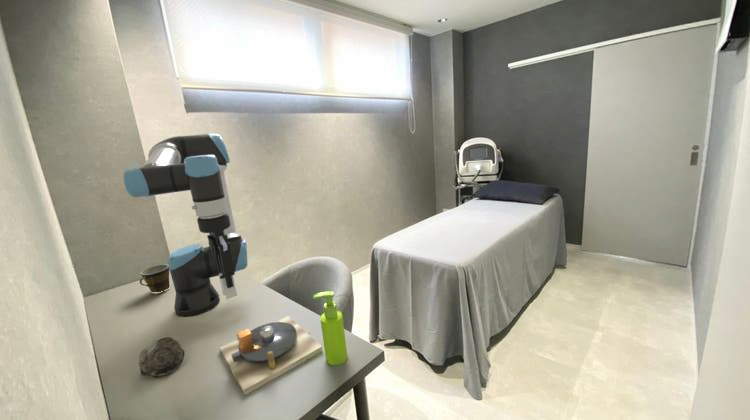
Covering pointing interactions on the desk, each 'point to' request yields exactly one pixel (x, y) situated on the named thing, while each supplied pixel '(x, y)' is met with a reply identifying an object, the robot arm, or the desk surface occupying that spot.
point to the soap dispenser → (332, 330)
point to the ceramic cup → (156, 277)
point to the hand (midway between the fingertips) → (230, 294)
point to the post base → (262, 369)
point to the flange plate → (265, 342)
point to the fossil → (161, 357)
